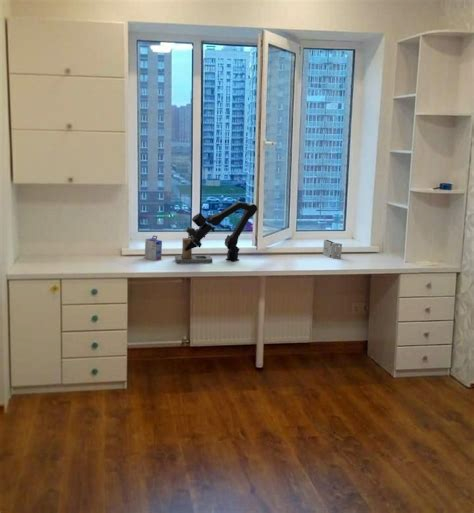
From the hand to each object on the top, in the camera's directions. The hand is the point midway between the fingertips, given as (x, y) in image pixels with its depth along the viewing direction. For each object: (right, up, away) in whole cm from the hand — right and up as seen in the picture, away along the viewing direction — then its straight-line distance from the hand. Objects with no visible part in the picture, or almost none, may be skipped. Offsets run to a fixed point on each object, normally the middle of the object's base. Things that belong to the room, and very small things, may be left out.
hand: (184, 248), depth 399 cm
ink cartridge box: (-20, -6, +4) cm, 22 cm away
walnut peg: (+1, -6, +2) cm, 7 cm away
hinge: (+96, -5, +33) cm, 101 cm away
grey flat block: (+5, -8, +3) cm, 10 cm away
